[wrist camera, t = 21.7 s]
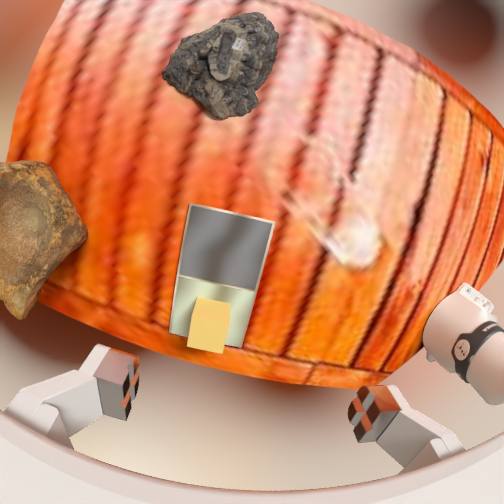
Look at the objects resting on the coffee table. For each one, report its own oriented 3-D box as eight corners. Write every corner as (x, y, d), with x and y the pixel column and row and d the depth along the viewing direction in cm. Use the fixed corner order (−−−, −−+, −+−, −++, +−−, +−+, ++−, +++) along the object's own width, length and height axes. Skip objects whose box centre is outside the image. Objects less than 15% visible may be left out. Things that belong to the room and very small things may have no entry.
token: (230, 303, 41) (229, 324, 36) (223, 331, 43) (222, 353, 37) (197, 296, 41) (191, 316, 35) (192, 324, 42) (186, 346, 36)
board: (274, 221, 39) (275, 222, 38) (241, 345, 45) (241, 348, 44) (190, 202, 38) (189, 203, 37) (169, 330, 43) (168, 333, 42)
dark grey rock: (151, 103, 34) (251, 128, 36) (142, 97, 30) (253, 123, 32) (197, 3, 29) (289, 24, 31) (194, -10, 25) (294, 13, 27)
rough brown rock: (114, 283, 41) (77, 327, 27) (40, 293, 40) (-5, 329, 25) (91, 141, 36) (40, 126, 21) (17, 167, 34) (-39, 168, 19)
